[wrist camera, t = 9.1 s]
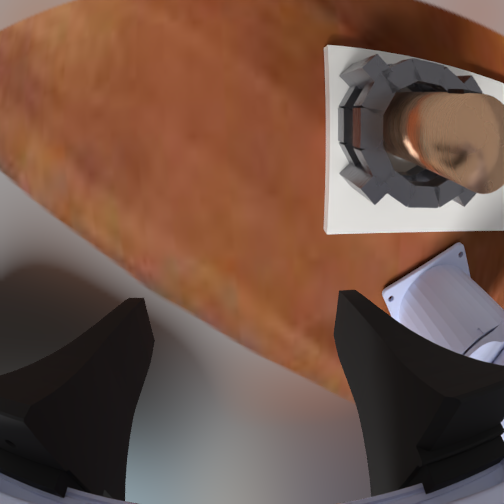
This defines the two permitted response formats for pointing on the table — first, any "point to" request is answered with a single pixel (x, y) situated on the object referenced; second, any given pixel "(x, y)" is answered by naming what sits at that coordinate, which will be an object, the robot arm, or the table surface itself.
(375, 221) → the base board
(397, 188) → the collar stand
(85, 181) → the table surface
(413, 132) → the tube
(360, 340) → the robot arm
